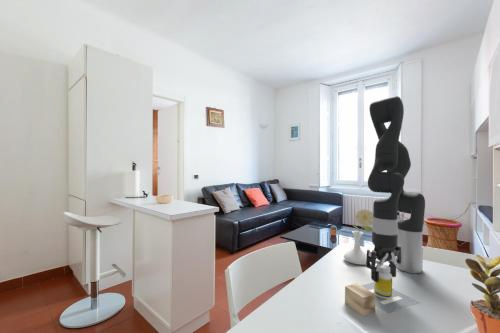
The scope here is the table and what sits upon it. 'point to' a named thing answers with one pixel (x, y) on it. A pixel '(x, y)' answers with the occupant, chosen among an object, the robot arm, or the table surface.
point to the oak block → (360, 299)
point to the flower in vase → (356, 253)
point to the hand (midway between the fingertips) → (383, 278)
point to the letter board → (391, 300)
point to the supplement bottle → (384, 283)
